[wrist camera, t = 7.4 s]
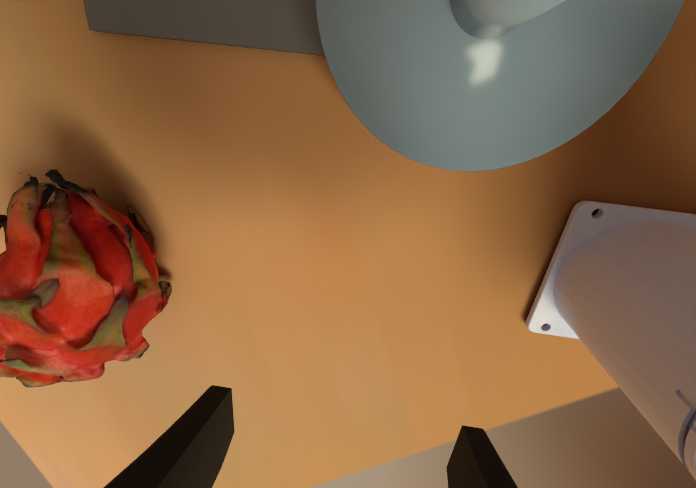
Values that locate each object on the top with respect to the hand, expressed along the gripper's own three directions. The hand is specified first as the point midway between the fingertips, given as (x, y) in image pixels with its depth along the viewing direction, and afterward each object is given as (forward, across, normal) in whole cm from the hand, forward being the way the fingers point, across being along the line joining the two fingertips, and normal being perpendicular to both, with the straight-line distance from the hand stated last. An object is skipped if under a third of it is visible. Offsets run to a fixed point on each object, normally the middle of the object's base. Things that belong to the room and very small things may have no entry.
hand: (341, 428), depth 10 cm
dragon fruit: (+10, +15, +1) cm, 18 cm away
